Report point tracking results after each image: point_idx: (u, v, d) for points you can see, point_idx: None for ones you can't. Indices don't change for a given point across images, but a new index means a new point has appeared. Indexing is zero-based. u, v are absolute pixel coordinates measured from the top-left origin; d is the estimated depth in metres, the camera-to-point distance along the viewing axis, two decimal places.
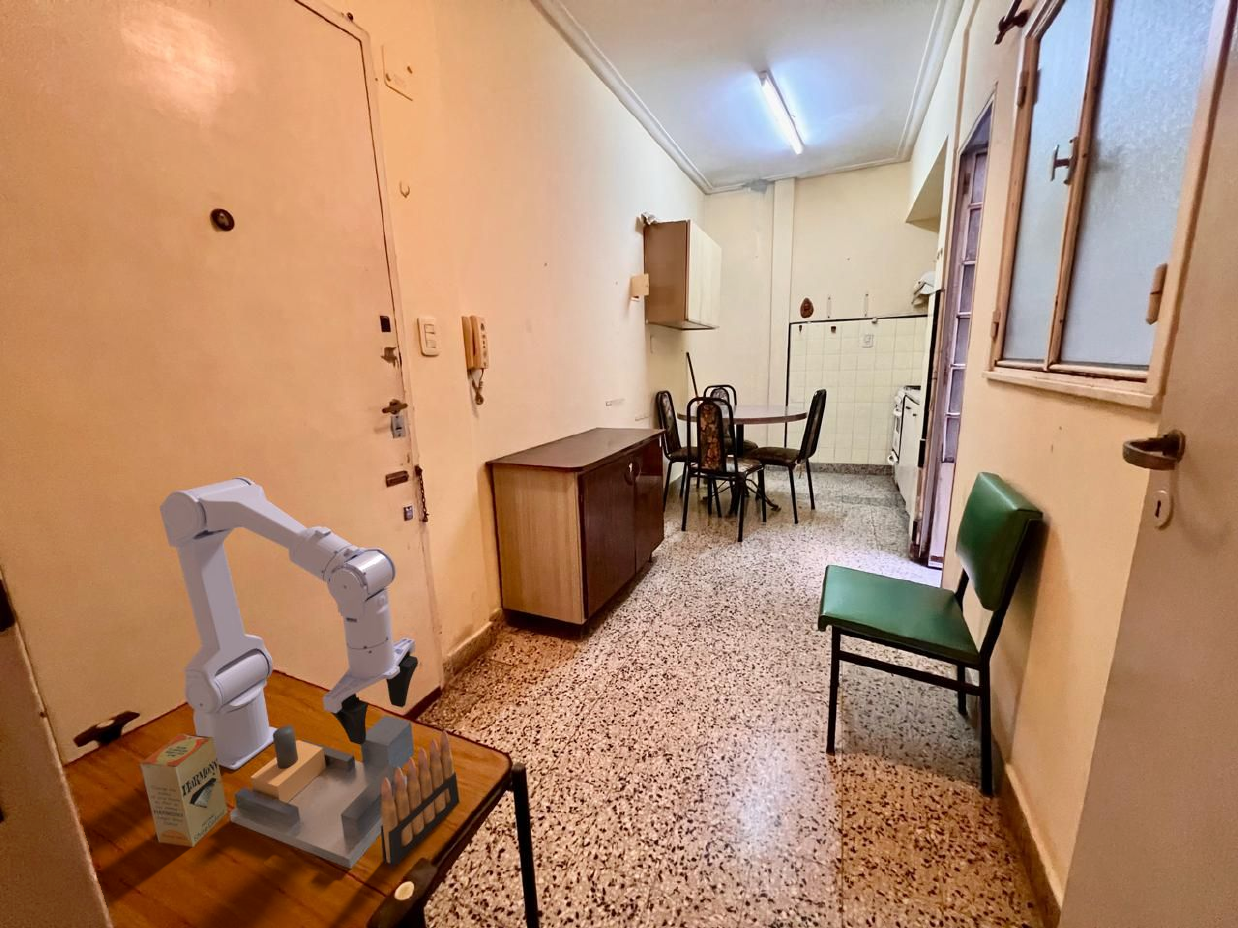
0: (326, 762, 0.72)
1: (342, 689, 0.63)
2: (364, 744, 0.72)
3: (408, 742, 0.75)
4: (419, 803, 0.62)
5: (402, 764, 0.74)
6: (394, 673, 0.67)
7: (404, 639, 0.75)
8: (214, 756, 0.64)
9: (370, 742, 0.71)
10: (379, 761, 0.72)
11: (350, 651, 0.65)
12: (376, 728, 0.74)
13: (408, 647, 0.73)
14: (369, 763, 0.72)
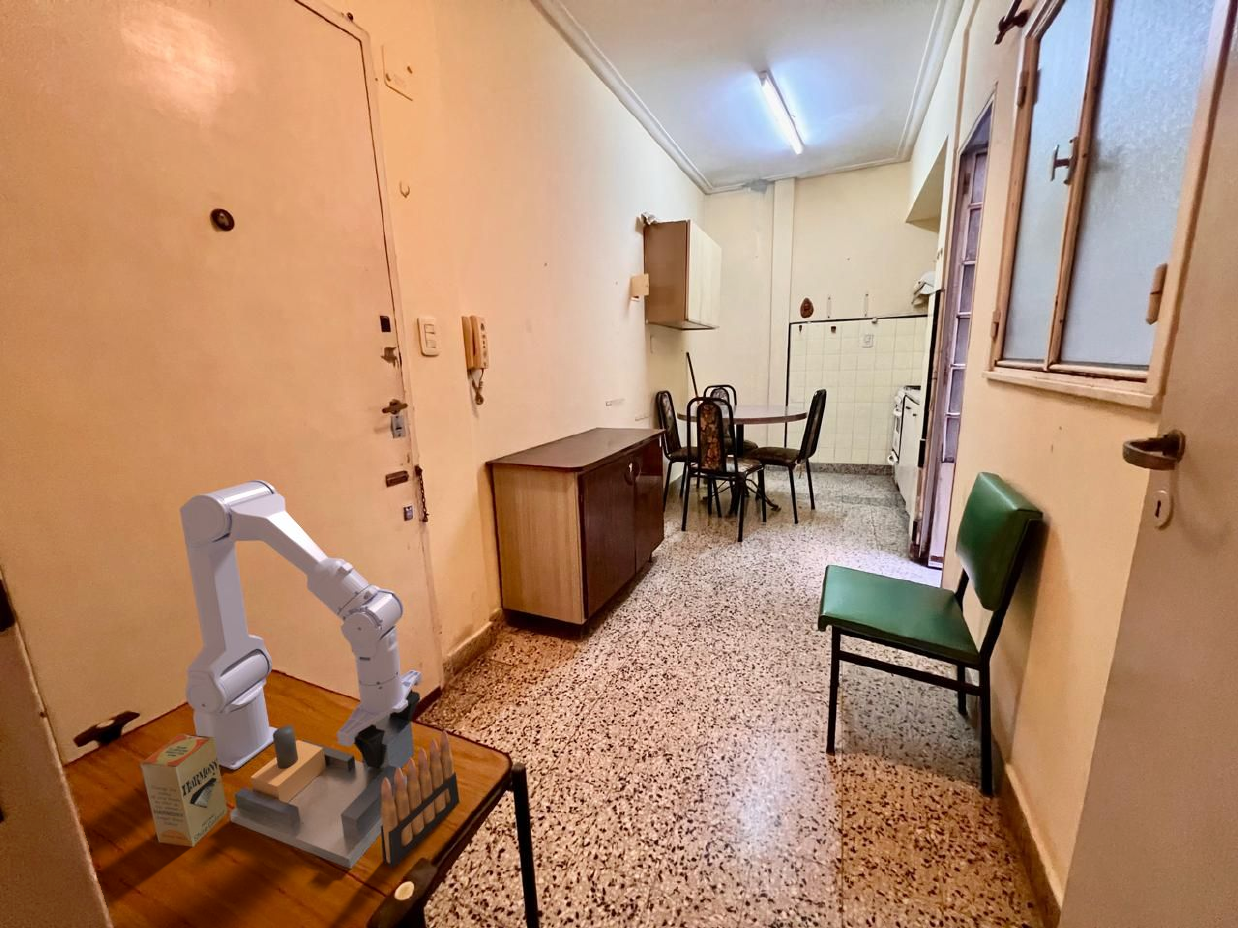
0: (326, 762, 0.72)
1: (355, 723, 0.68)
2: None
3: (408, 742, 0.75)
4: (419, 803, 0.62)
5: (402, 764, 0.74)
6: (402, 707, 0.71)
7: (411, 671, 0.79)
8: (214, 756, 0.64)
9: None
10: None
11: (362, 687, 0.69)
12: None
13: (415, 679, 0.77)
14: None
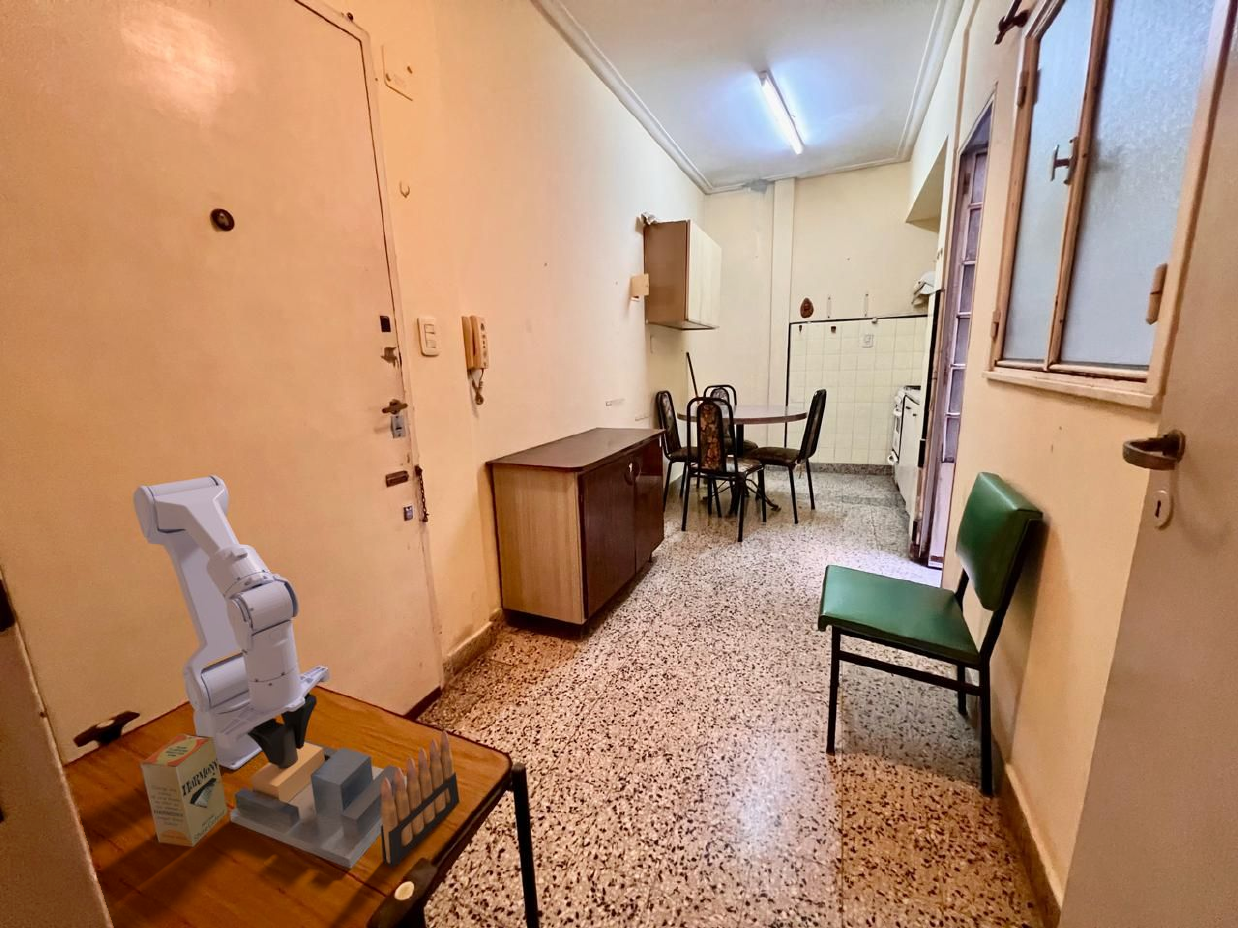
0: None
1: (239, 724, 0.62)
2: (315, 782, 0.64)
3: (367, 778, 0.67)
4: (419, 803, 0.62)
5: None
6: (297, 705, 0.65)
7: (318, 667, 0.73)
8: (214, 756, 0.64)
9: (322, 780, 0.63)
10: (332, 802, 0.63)
11: (250, 684, 0.63)
12: (330, 763, 0.65)
13: (320, 676, 0.71)
14: (321, 803, 0.64)
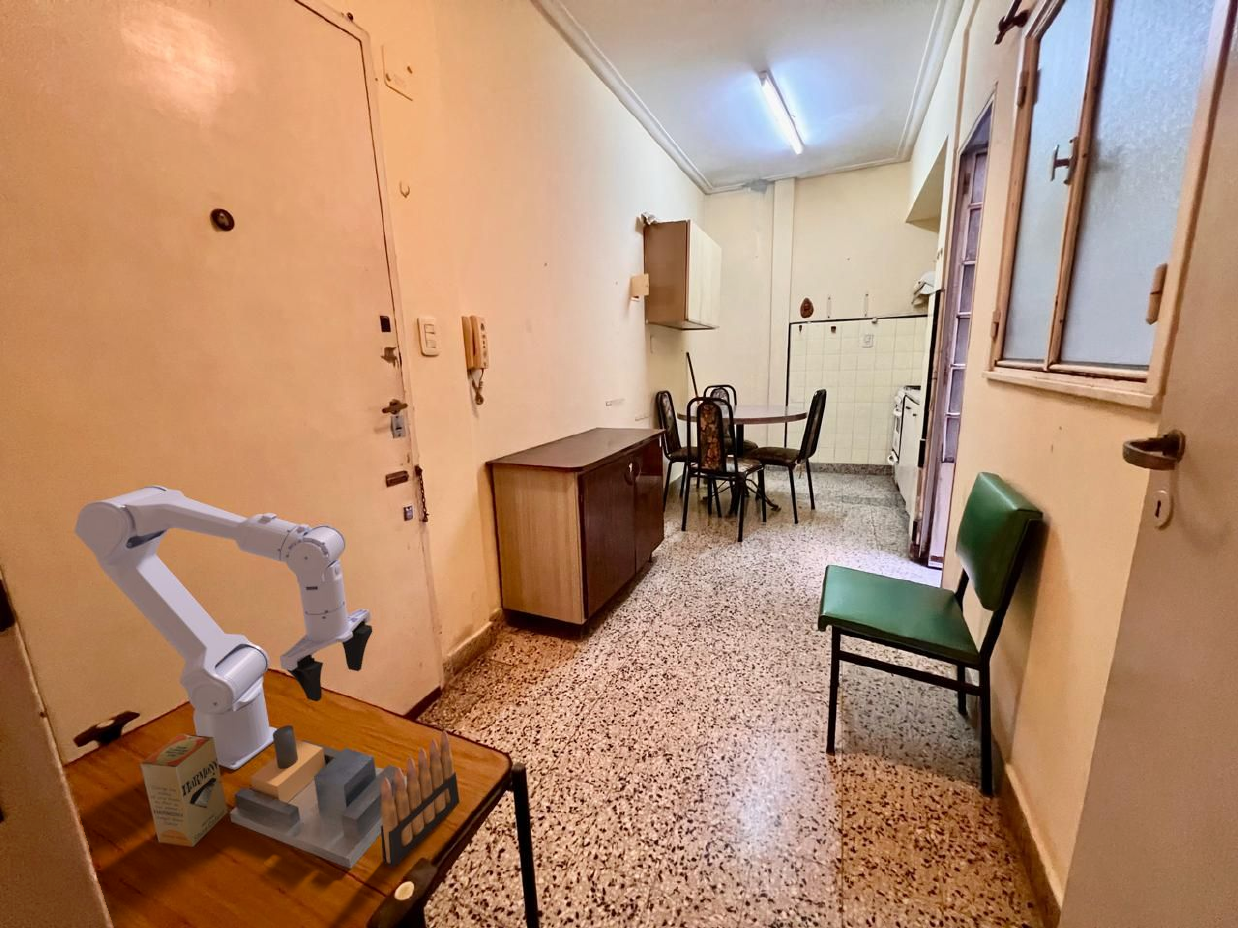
0: (326, 762, 0.72)
1: (298, 650, 0.71)
2: (319, 783, 0.63)
3: (370, 779, 0.66)
4: (419, 803, 0.62)
5: None
6: (346, 637, 0.74)
7: (360, 610, 0.82)
8: (214, 756, 0.64)
9: (325, 781, 0.63)
10: (336, 803, 0.63)
11: (306, 617, 0.72)
12: (333, 764, 0.65)
13: (363, 616, 0.80)
14: (325, 805, 0.64)
